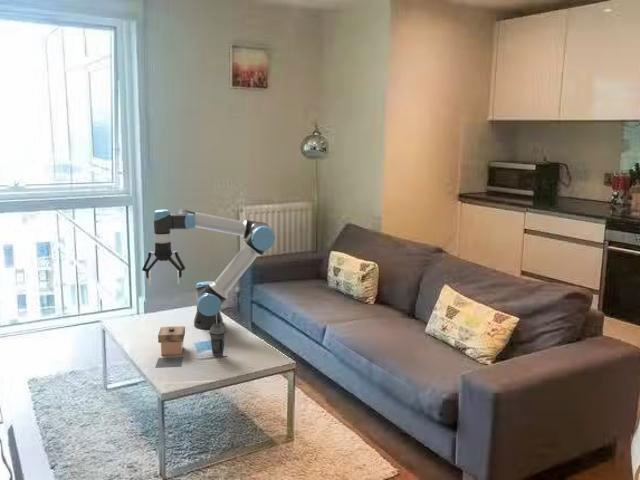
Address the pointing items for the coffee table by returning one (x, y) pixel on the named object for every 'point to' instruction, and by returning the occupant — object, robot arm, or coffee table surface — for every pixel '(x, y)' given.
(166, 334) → the lid
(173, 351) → the peach open box
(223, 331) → the beverage cup
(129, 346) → the coffee table surface
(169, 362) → the mat
